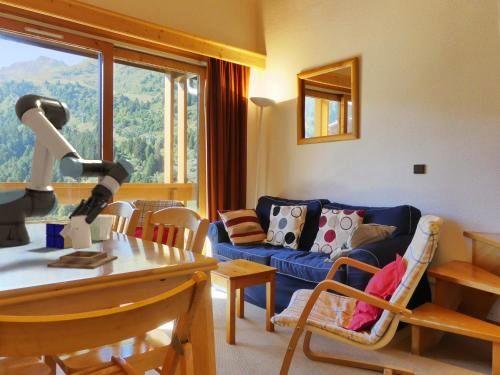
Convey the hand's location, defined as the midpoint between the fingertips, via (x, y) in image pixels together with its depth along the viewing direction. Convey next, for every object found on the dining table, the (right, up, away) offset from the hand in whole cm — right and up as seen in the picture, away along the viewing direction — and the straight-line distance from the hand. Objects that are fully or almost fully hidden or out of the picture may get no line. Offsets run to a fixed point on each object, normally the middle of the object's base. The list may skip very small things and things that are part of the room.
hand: (66, 236), depth 141 cm
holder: (+10, -8, -9) cm, 16 cm away
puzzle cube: (-11, -7, +22) cm, 26 cm away
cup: (-4, -7, +41) cm, 42 cm away
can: (+5, -5, +3) cm, 7 cm away
